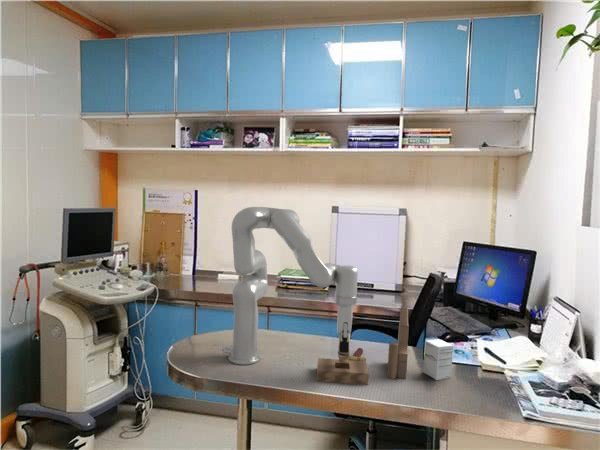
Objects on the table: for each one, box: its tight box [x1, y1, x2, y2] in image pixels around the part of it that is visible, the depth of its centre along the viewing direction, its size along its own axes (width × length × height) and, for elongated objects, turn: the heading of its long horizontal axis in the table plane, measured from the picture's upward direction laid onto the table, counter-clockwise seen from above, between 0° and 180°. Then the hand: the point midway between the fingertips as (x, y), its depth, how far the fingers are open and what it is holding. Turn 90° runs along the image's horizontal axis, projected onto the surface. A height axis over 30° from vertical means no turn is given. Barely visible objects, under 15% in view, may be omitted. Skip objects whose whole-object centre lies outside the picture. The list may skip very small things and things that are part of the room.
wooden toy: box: [387, 306, 410, 380], centre depth 158 cm, size 16×7×25 cm, turn 169°
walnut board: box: [316, 357, 370, 386], centre depth 152 cm, size 18×11×4 cm, turn 86°
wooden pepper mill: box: [337, 331, 351, 363], centre depth 151 cm, size 4×4×12 cm
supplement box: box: [423, 338, 454, 381], centre depth 156 cm, size 7×7×13 cm
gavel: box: [348, 347, 367, 363], centre depth 170 cm, size 21×5×10 cm
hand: (343, 349), depth 151 cm, fingers closed on wooden pepper mill, 4 cm apart
